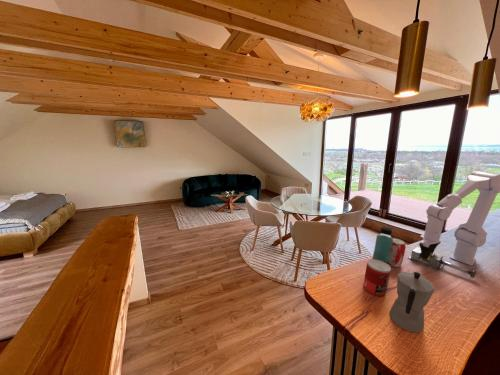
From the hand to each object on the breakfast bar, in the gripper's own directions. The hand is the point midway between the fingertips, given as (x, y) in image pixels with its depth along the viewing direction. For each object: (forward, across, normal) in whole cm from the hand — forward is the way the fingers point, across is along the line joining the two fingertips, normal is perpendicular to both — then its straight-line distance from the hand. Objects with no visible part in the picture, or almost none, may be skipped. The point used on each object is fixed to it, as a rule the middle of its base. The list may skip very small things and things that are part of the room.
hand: (426, 255), depth 103 cm
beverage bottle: (+3, +26, -11) cm, 28 cm away
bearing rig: (+3, 0, 0) cm, 3 cm away
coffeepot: (+3, +50, +7) cm, 51 cm away
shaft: (+2, 0, +9) cm, 10 cm away
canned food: (+3, +42, -6) cm, 42 cm away
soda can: (+3, +16, -9) cm, 18 cm away
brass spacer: (+3, 0, 0) cm, 3 cm away
